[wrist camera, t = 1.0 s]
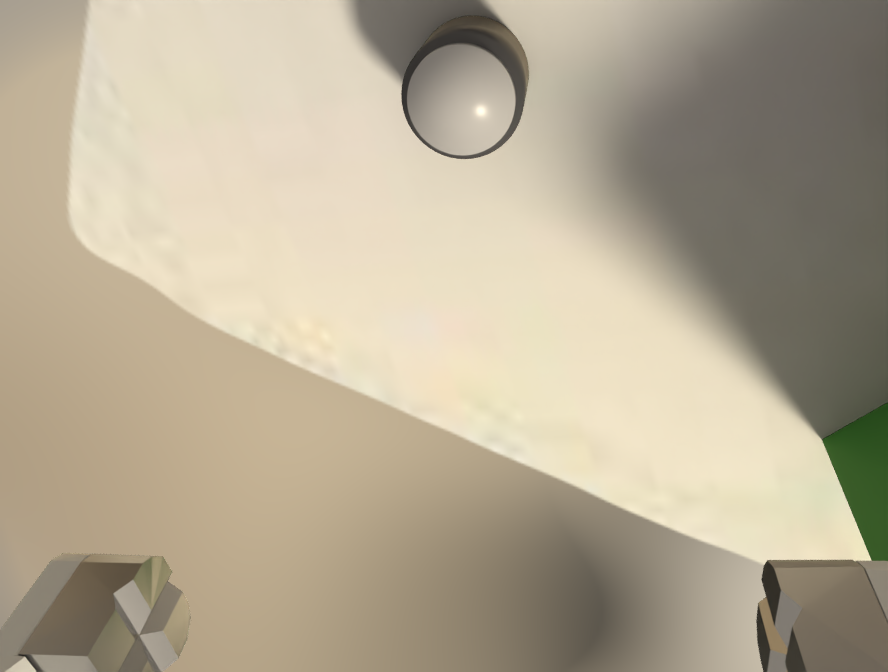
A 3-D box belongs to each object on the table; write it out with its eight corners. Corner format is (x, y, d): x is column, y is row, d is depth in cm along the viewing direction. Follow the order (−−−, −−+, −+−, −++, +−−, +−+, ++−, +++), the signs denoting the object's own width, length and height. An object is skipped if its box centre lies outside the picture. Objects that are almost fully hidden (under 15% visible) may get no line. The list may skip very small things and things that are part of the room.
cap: (489, -10, 33) (479, 9, 29) (549, 93, 35) (546, 123, 31) (395, 57, 35) (374, 82, 31) (457, 150, 37) (444, 183, 34)
